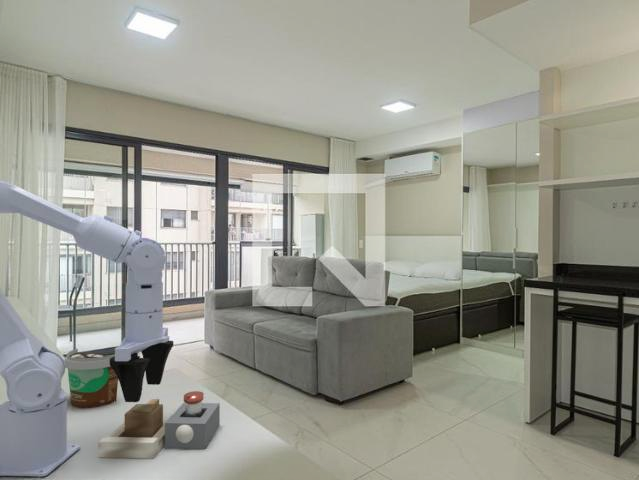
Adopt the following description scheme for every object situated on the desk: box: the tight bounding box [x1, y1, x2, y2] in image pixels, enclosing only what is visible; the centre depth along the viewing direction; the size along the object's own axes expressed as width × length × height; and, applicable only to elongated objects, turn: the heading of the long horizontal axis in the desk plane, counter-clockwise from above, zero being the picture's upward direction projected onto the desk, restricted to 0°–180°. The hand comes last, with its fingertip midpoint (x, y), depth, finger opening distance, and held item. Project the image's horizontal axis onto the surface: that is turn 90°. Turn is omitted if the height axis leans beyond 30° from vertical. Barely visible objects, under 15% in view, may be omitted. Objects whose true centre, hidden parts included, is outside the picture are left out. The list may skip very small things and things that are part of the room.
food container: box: [64, 348, 119, 409], centre depth 81 cm, size 12×6×10 cm, turn 73°
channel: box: [97, 398, 185, 459], centre depth 70 cm, size 9×18×2 cm, turn 178°
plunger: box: [183, 390, 205, 418], centre depth 68 cm, size 3×3×5 cm
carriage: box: [124, 403, 164, 438], centre depth 67 cm, size 5×4×5 cm
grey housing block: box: [164, 402, 221, 450], centre depth 68 cm, size 6×8×4 cm
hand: (143, 392), depth 67 cm, fingers open, 7 cm apart
